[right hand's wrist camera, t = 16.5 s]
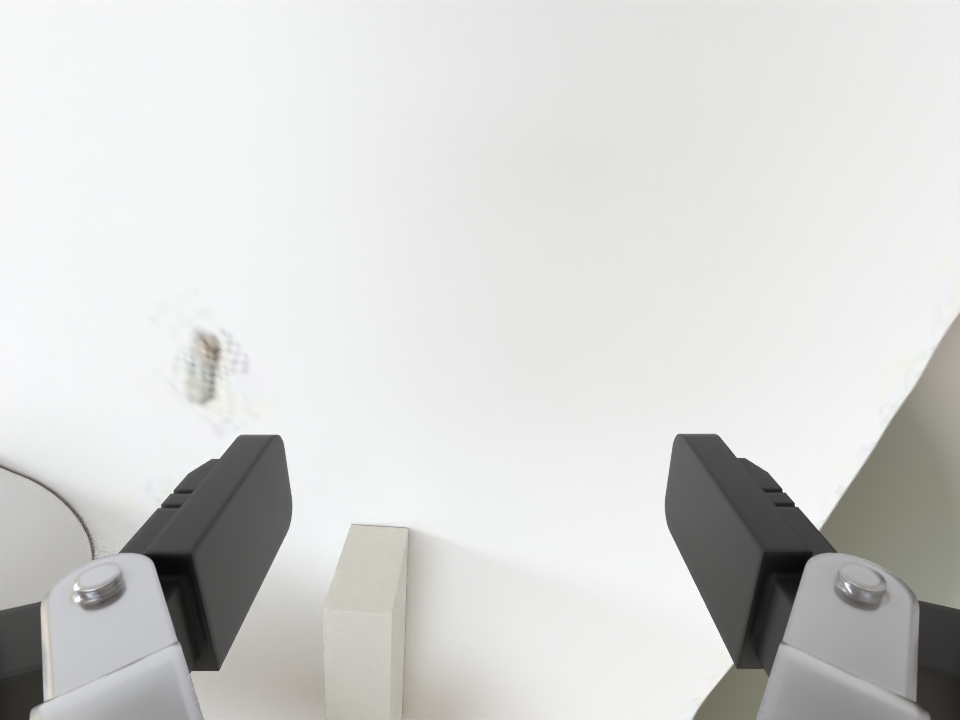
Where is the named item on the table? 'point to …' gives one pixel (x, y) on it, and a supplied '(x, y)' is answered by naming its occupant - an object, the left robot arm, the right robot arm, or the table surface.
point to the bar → (366, 626)
